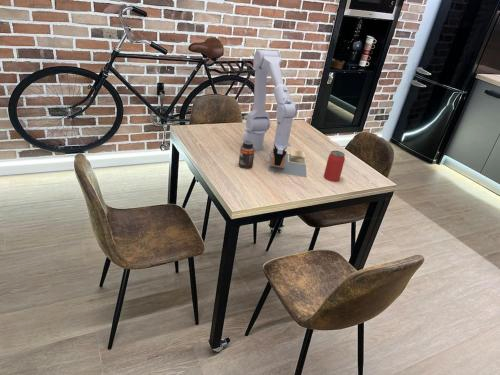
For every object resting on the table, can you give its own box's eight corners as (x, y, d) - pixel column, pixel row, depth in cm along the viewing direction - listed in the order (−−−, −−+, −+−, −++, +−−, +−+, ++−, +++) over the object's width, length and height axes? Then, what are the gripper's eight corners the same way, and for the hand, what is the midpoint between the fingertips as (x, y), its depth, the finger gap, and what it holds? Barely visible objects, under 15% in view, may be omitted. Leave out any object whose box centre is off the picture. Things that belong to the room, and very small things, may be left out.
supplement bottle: (254, 166, 159) (257, 141, 153) (249, 171, 154) (253, 146, 148) (241, 162, 160) (244, 138, 155) (236, 168, 155) (239, 142, 150)
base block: (289, 161, 166) (291, 155, 164) (290, 155, 171) (291, 149, 169) (303, 163, 165) (304, 157, 164) (303, 158, 171) (304, 151, 169)
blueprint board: (267, 172, 155) (267, 170, 154) (270, 152, 173) (270, 150, 173) (306, 178, 154) (306, 176, 154) (304, 158, 173) (305, 156, 172)
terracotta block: (269, 165, 157) (271, 157, 155) (270, 161, 160) (271, 153, 158) (284, 168, 156) (285, 159, 154) (284, 163, 160) (285, 155, 158)
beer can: (329, 184, 153) (336, 157, 147) (320, 176, 158) (326, 150, 152) (342, 182, 156) (349, 155, 150) (332, 175, 161) (339, 149, 155)
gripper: (292, 140, 145) (286, 172, 151) (292, 127, 157) (287, 157, 164) (274, 137, 145) (269, 169, 152) (276, 125, 158) (271, 154, 164)
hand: (277, 162), depth 158 cm, fingers closed on terracotta block, 4 cm apart
